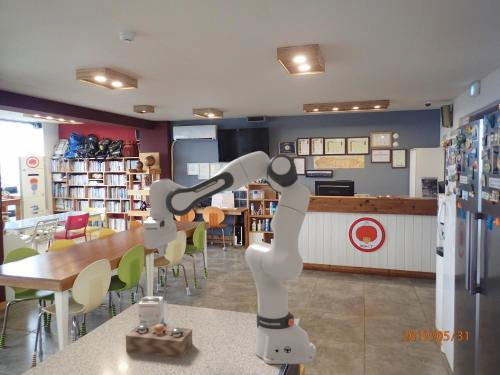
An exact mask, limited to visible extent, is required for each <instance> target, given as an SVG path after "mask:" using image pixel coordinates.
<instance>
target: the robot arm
mask: <svg viewBox="0 0 500 375" xmlns="http://www.w3.org/2000/svg"><path fill="white" fill-rule="evenodd" d="M298 179H299V178H298V172H297V167H296V163H295V162H294V160H293V159H292V158H291V157H290V156H289V155H286V154H277V155H274V156H273V157H271V159H270V157H269V155H268V154H267V153H266V152H264V151H261V150H258V151H254V152H249V153H247V154H245V155H242V156H240V157H237V158H236V159H233V160H232V161H230V162H228V163H227V164H225V165H223V167H222V168H221V169H220V170H219V171H218V172H217V173H215V174H214V175H213V176H211V177H209V178H207V179H206V180H203V181H201V182H198V183H197V184H195V185H193V186H190V187H188V186H184V185H181V184H178V183H176V182H175V181H173V180H172V179H170V178H162V179H157V180H154V181H153V182H151V184H150V185H149V196H148V197H149V199H148V201H149V202H148V203H149V206H150V210H149V216H148V217H147V219H146V220H145V221H144V222H143V228H144V233H143V236H144V238H143V239H144V241H143V242H144V247H145V249H147V250H155V249H157V252H158V256H159V257H164V256H165V255H167V249H168V246H169V245H168V244H169V243H171V242H172V241H175V240H177V239H178V238H177V237H178V229H177V223H176V222H175V220H174V216H177V217H182V216H186V215H188V214H190V212H191V211H192V210H193V208H194V207H195V206H196V205H198V204H199V203H200V202H203V201H204V200H207V199H209V198H211V197H213V196H215V195H217V194H220V193H223V192H227V191H232V190H235V189H239V188H242V187H246V186H248V185H249V184H252V183H254V182H256V181H258V180H264V182H265V183H266V184H267V185H268V186H269V187H270V188H271V189H272V190H273V191H274V192H275V193H279V194H280V198H279V201H278V204H277V206H276V208H275V211H274V213H273V217H272V219H271V221H270V223H269V224H270V230H271V231H272V232H273V240H272V241H273V242H272V244H271V243H269V242H268V243H267V242H264V241H263V242H253V243H251V244H250V245H248V247H247V248H246V250H245V252H244V259H245V263H246V264H247V266H248V267H249V268H250V271H251V273H252V276H253V279H254V283H255V288H256V292H257V312H256V327H257V330H256V331H257V332H256V333H257V334H256V340H255V344H254V348H253V353H254V354H255V355H256V356H257V357H259V358H261V359H262V360H263V361H264V362H265V363H266V364H269V365H270V364H271V365H310V364H312V363H313V362H314V361H315V359H316V357H317V347H316V346H315V344H313V342H310V337H309V335H308V334H309V333H308V332H307V331H305V329H303V328H301V327H300V326H299V325H298V324H296V323H295V315H294V312H292V313H291V312H289V292H288V289H287V287H286V286H285V285H284V283H283V281H294V280H296V279H298V278H299V277H300V276H301V274H302V272H303V269H304V262H303V258H302V256H301V254H300V251H299V237H300V233H301V230H302V227H303V223H304V220H305V219H306V215H307V211H308V210H309V209H308V208H309V205H310V204H309V203H310V198H311V192H310V189H309V187H307V186H306V185H304V184H302V183H300V182H298Z"/></svg>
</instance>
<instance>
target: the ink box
mask: <svg viewBox="0 0 500 375" xmlns="http://www.w3.org/2000/svg"><path fill="white" fill-rule="evenodd" d="M140 299H141V300H140V301H139V303H137V305H138V306H137V308H138V311H137V312H138V325H139V324H147V325H157V324H164V323H165V311H164V310H165V309H164V296H144V297H140ZM164 325H165V324H164Z"/></svg>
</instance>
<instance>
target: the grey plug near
mask: <svg viewBox="0 0 500 375" xmlns="http://www.w3.org/2000/svg"><path fill="white" fill-rule="evenodd" d="M175 327H176V326H175ZM181 328H182V327H176V328H173V329H172V333H173V336H175V337H180V336H181V332H182V329H181Z"/></svg>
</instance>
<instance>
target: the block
mask: <svg viewBox="0 0 500 375" xmlns="http://www.w3.org/2000/svg"><path fill="white" fill-rule="evenodd" d="M138 325H141V324H139V323H138ZM138 325H137V326H136V327H134V328H133V329H132V330H130V331H129V332H128V333H127V334H126V335H125V352H129V353H130V352H131V353H137V354H147V355H153V356H154V355H155V356H163V357H171V358H180V359H182V358H183V357H184V355H186V353H187V352H188V351H189V349H190V348H191V347H192V345H193V328H184V327H180V328H181V329H182V332H181V336H180V337H175V336H173V333H172V329H173V328H176V326H175V327H174V326H165V325H164V329H163V334H162V335H156V330H155V329H154V326H155V325H147V329H146V333H139V330H138Z"/></svg>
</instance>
